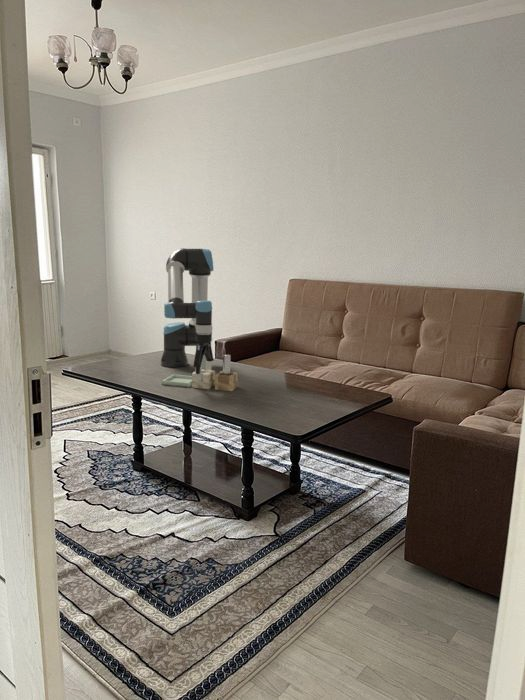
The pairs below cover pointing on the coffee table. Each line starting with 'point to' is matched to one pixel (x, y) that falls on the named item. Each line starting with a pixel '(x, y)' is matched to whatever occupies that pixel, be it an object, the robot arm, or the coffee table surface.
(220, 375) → the oak block
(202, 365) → the supplement box
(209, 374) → the birch block
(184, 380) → the tray
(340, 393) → the coffee table surface
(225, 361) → the rod
